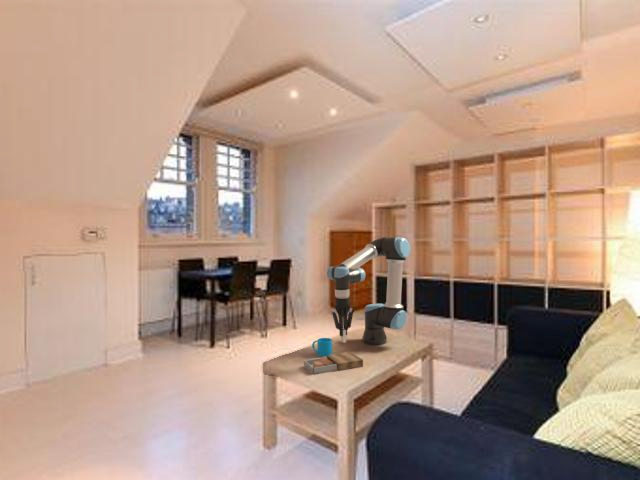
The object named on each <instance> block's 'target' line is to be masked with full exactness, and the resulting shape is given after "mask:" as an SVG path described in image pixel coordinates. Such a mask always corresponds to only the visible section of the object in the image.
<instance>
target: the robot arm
mask: <svg viewBox="0 0 640 480" xmlns="http://www.w3.org/2000/svg"><path fill="white" fill-rule="evenodd" d="M410 254H411V246H410V243H409V241H408V240H407V239H406V238H405V237H399V236H398V237H396V236H395V237H393V236H392V237H390V236H388V237H387V236H383V237H378V238H376V239H374V240H372V241H371V242H369V243H367V244H366V245H365V246H364V248H363V249H361V250H360V251H358V252H356V253H355V254H353V255H352V256H350V257H349V258H347V259H346V260H344V261H342V262H341V263H340V264H338V265H336V266H330V267H328V268H327V269H326V276H327V278H328V279H329V280H331V281H334V294H335V295H334V296H335V297H334V300H335V306H334V309H333V310H332V311H330V314H331V315H332V318H333V322H334V326H335V329H336V330H339V337H340V340H341V343H344V344H345V343H347V336H348V330H349V329H350V328H351V327H352V326H351V325H352V322H353V321H352V320H353V315H354V313H355V311H356V309H354V308H352V307H351V305H350V304H351V303H350V302H351V300H350V299H351V298H350V285H353V284H358V283H361V282H363V281H365V279H366V272H365V270H364V269H363V268H361V266H363V265H365V264H366V263H367V262H369V261H370V260H372V259H376V258H377V257H385V260H386V262H387V279H386V281H387V284H386V297H385V298H386V301H385V302H384V303H371V304H367V305H366V306H365V308H364V331H363V334H362V337H361V340H362V343H364V344H367V345H374V346H378V345H379V346H380V345H385V344H387V342H388V338H387V334H386V331H385V328H387V329H391V330H396V331H399V330H402V329H403V328H404V327H405V325H406V324H407V321H408V314H407V312H406V311H405V310H404V305H403V304H402V290H403V289H402V287H403V267H404V266H403V265H404V263H405V262H406V261H407V260H406V259H407V258H409V256H410ZM337 315H338V316H337Z"/></svg>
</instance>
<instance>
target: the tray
mask: <svg viewBox="0 0 640 480" xmlns="http://www.w3.org/2000/svg"><path fill="white" fill-rule="evenodd" d="M321 358H322V357H319V358H313V359H306V360H303V366H304V368H305V369H306V370H307V371H309V372H310V373H311V374H312V375H319V374H325V373H329V372H334V371H338V370H337V364H333V365H326V364H325V366H322V367H316V368H314V367H313V362H315V361H321ZM325 358H327V357H325Z"/></svg>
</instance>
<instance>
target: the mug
mask: <svg viewBox="0 0 640 480" xmlns="http://www.w3.org/2000/svg"><path fill="white" fill-rule="evenodd" d="M316 343H317V349H316V347H315V344H316ZM311 348H312V349H313V351H314V352H316V353H317V356H319V357H320V358H322V357H323V356H324V357H327V355H332V354H333V339H332V338H329V337H321V338H318V339H317V340H315V341H313V342H312V344H311Z"/></svg>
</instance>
